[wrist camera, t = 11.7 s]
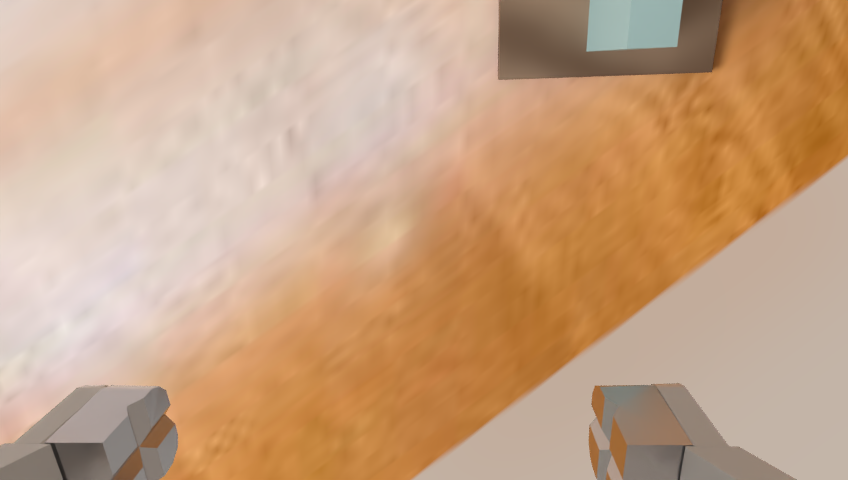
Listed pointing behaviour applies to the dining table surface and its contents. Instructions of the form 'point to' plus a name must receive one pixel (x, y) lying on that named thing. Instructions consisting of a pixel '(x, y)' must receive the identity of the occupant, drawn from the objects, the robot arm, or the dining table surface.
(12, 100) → the dining table surface
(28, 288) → the dining table surface
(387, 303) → the dining table surface
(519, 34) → the stand
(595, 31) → the green arch block
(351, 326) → the dining table surface
